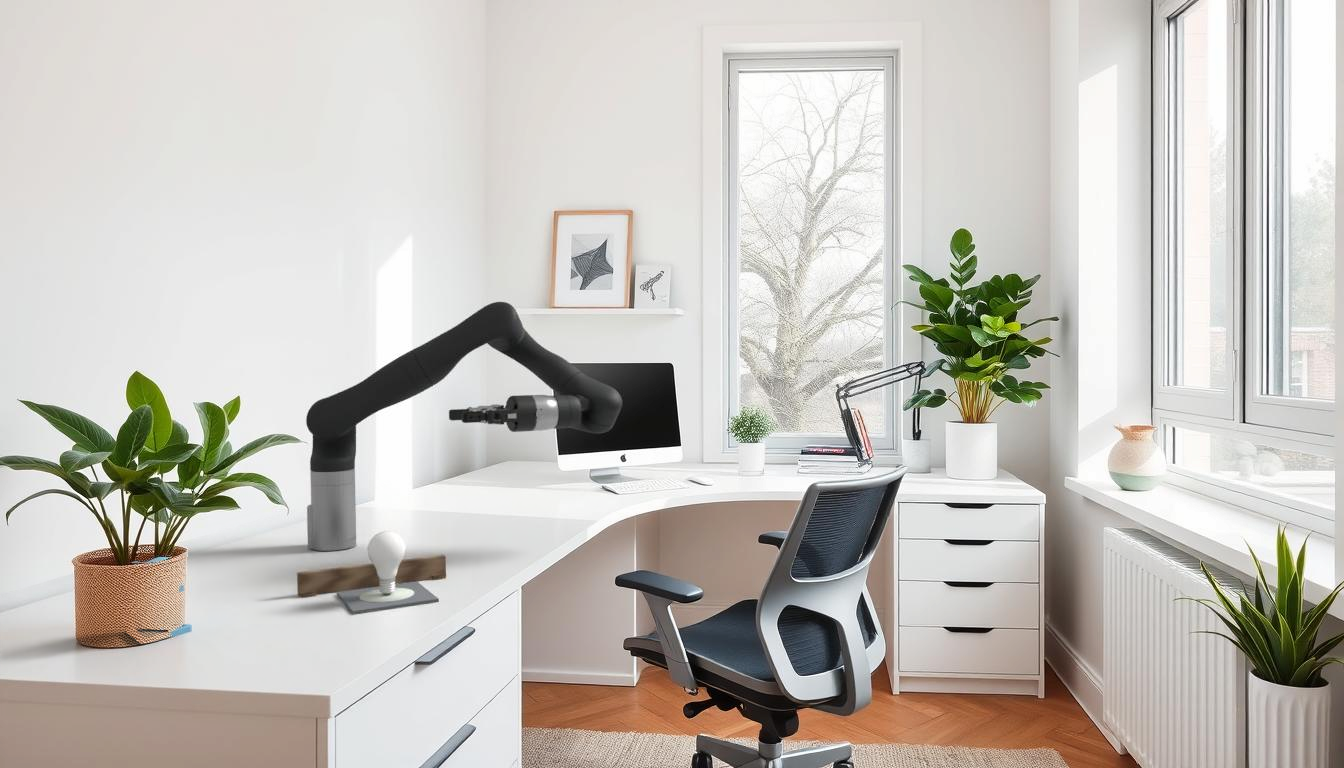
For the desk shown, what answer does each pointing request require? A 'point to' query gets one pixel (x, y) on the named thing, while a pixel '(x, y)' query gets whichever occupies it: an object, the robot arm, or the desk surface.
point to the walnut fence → (367, 576)
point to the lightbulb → (386, 558)
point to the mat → (386, 598)
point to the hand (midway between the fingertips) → (455, 416)
